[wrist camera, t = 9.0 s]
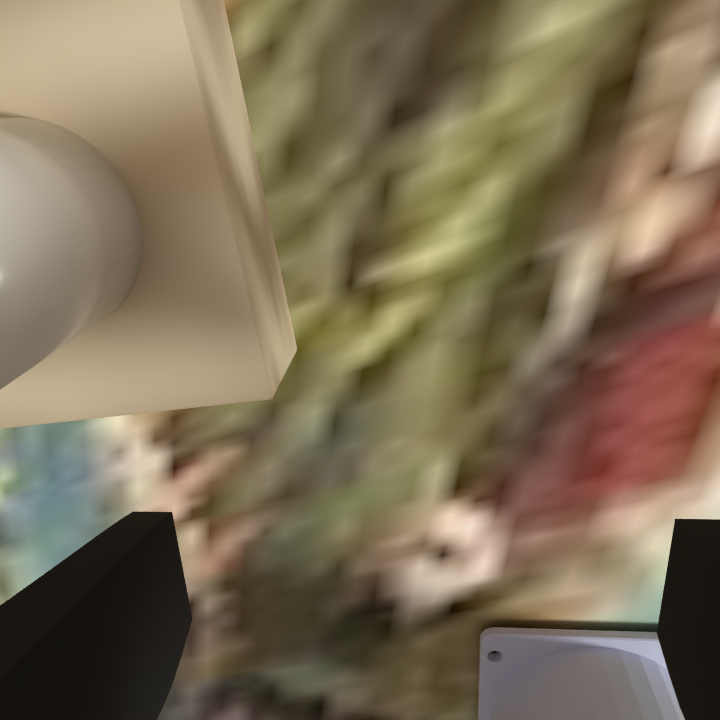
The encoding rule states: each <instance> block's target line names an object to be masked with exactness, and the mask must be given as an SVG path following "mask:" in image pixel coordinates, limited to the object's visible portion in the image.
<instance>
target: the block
mask: <svg viewBox="0 0 720 720" xmlns="http://www.w3.org/2000/svg"><path fill="white" fill-rule="evenodd" d="M10 117H25V118H35V119H39V120H43V121H48V122H51V123H53V124H56V125H59V126H61V127H64V128H66V129H68V130H69V131H71V132H73V133H75V134H77V135H78V136H80V137H81V138H83V139H84V140H86V141H87V142H89V143H90V144H91V145H92V146H93V147H95V148H96V149H97V150H98V151H99V152H100V153H101V154H102V155H103V156H104V157H105V158H106V159H107V160H108V161H109V162H110V163H111V165H112V166H113V167H114V168H115V170H116V171H117V173H118V174H119V175H120V177H121V178H122V180H123V182H124V183H125V185H126V187H127V189H128V190H129V192H130V195H131V197H132V199H133V202H134V204H135V207H136V210H137V213H138V216H139V220H140V226H141V232H142V259H141V264H140V269H139V273H138V276H137V278H136V281H135V284H134V286H133V287H132V289H131V291H130V293H129V295H128V296H127V297H126V299H125V300H124V301H123V302H122V304H121V305H120V306H119V307H117V308H116V309H115V310H114V311H113V312H112V313H111V314H109V315H108V316H106V317H105V318H103V319H102V320H100V321H99V322H97V323H96V324H95V325H93V326H92V327H90V328H89V329H87V330H86V331H84V332H83V333H82V334H80V335H79V336H77V337H76V338H74V339H73V340H71V341H70V342H69V343H67V344H66V345H64V346H63V347H61V348H60V349H58V350H57V351H56V352H54V353H53V354H51V355H50V356H48V357H47V358H45V359H44V360H43V361H41V362H40V363H38V364H37V365H35V366H34V367H32V368H31V369H29V370H28V371H27V372H25V373H24V374H22V375H21V376H19V377H18V378H16V379H15V380H14V381H12V382H11V383H9V384H8V385H6V386H5V387H3V388H2V389H1V390H0V429H1V428H10V427H19V426H29V425H38V424H47V423H56V422H65V421H74V420H84V419H93V418H102V417H111V416H120V415H129V414H139V413H148V412H157V411H166V410H175V409H184V408H194V407H203V406H212V405H221V404H230V403H239V402H249V401H258V400H267V399H272V398H273V396H274V394H275V392H276V390H277V388H278V386H279V384H280V382H281V380H282V378H283V376H284V374H285V372H286V370H287V368H288V366H289V364H290V362H291V360H292V359H293V357H294V355H295V353H296V351H297V347H296V342H295V337H294V332H293V328H292V323H291V318H290V313H289V309H288V304H287V299H286V294H285V290H284V285H283V280H282V275H281V271H280V266H279V261H278V256H277V252H276V247H275V242H274V237H273V233H272V228H271V223H270V218H269V214H268V209H267V204H266V199H265V195H264V190H263V185H262V180H261V176H260V171H259V166H258V161H257V157H256V152H255V147H254V143H253V138H252V133H251V128H250V124H249V119H248V114H247V109H246V105H245V100H244V95H243V90H242V86H241V81H240V76H239V71H238V67H237V62H236V57H235V52H234V48H233V43H232V38H231V33H230V29H229V24H228V19H227V14H226V10H225V5H224V0H0V118H10Z"/></svg>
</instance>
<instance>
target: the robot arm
mask: <svg viewBox="0 0 720 720" xmlns="http://www.w3.org/2000/svg"><path fill="white" fill-rule="evenodd" d="M191 621H192V615H191V610H190V604H189V599H188V594H187V589H186V583H185V578H184V573H183V568H182V562H181V557H180V552H179V547H178V541H177V536H176V531H175V526H174V520H173V515H172V512H132V513H130V514H129V515H127V516H126V517H124V518H122V519H121V520H119V521H118V522H116V523H115V524H113V525H112V526H110V527H109V528H108V529H106V530H105V531H103V532H102V533H101V534H99V535H98V536H96V537H95V538H94V539H92V540H91V541H89V542H88V543H87V544H85V545H84V546H83V547H81V548H80V549H78V550H77V551H76V552H74V553H73V554H72V555H70V556H69V557H67V558H66V559H65V560H63V561H62V562H61V563H59V564H58V565H56V566H55V567H54V568H52V569H51V570H49V571H48V572H47V573H45V574H44V575H42V576H41V577H40V578H38V579H37V580H35V581H34V582H33V583H31V584H30V585H28V586H27V587H26V588H24V589H23V590H22V591H20V592H19V593H17V594H16V595H15V596H13V597H12V598H10V599H9V600H7V601H6V602H5V603H3V604H2V605H0V720H157V719H158V716H159V714H160V712H161V710H162V707H163V705H164V703H165V700H166V698H167V696H168V693H169V691H170V689H171V686H172V683H173V680H174V677H175V674H176V671H177V668H178V665H179V662H180V659H181V655H182V652H183V649H184V645H185V642H186V638H187V635H188V632H189V628H190V625H191ZM491 651H498V652H497V653H491ZM478 720H720V520H711V519H675V524H674V530H673V536H672V542H671V548H670V554H669V561H668V567H667V573H666V579H665V585H664V591H663V598H662V604H661V610H660V616H659V622H658V628H657V632H633V631H601V630H569V629H537V628H504V627H492V628H488V629H486V630H484V631H483V632H482V633H481V636H480V657H479V693H478Z"/></svg>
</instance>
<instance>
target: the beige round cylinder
mask: <svg viewBox="0 0 720 720" xmlns="http://www.w3.org/2000/svg"><path fill="white" fill-rule="evenodd" d="M141 259H142V232H141V226H140V220H139V216H138V213H137V210H136V207H135V204H134V202H133V199H132V197H131V195H130V192H129V190H128V189H127V187H126V185H125V183H124V182H123V180H122V178H121V177H120V175H119V174H118V173H117V171H116V170H115V168H114V167H113V166H112V165H111V163H110V162H109V161H108V160H107V159H106V158H105V157H104V156H103V155H102V154H101V153H100V152H99V151H98V150H97V149H96V148H95V147H93V146H92V145H91V144H90V143H89V142H87V141H86V140H84V139H83V138H81V137H80V136H78V135H77V134H75V133H73V132H71V131H69V130H68V129H66V128H64V127H61V126H59V125H56V124H53V123H51V122H48V121H43V120H39V119H35V118H25V117H10V118H0V390H1V389H2V388H3V387H5V386H6V385H8V384H9V383H11V382H12V381H14V380H15V379H16V378H18V377H19V376H21V375H22V374H24V373H25V372H27V371H28V370H29V369H31V368H32V367H34V366H35V365H37V364H38V363H40V362H41V361H43V360H44V359H45V358H47V357H48V356H50V355H51V354H53V353H54V352H56V351H57V350H58V349H60V348H61V347H63V346H64V345H66V344H67V343H69V342H70V341H71V340H73V339H74V338H76V337H77V336H79V335H80V334H82V333H83V332H84V331H86V330H87V329H89V328H90V327H92V326H93V325H95V324H96V323H97V322H99V321H100V320H102V319H103V318H105V317H106V316H108V315H109V314H111V313H112V312H113V311H114V310H115V309H116V308H117V307H119V306H120V305H121V304H122V302H123V301H124V300H125V299H126V297H127V296H128V295H129V293H130V291H131V289H132V287H133V286H134V284H135V281H136V278H137V276H138V273H139V269H140V264H141Z"/></svg>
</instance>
